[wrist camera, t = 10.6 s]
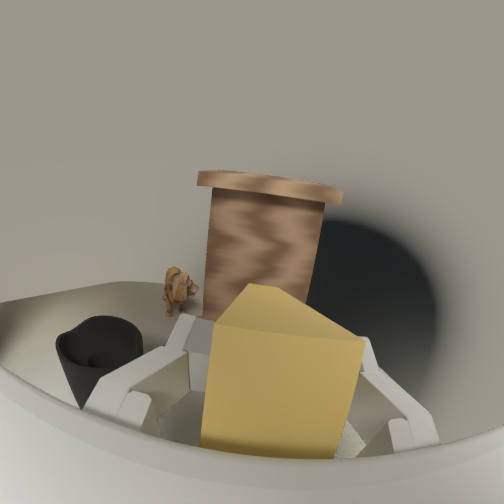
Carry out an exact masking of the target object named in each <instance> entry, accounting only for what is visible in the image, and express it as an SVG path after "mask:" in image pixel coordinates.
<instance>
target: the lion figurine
mask: <svg viewBox="0 0 504 504" xmlns="http://www.w3.org/2000/svg"><path fill="white" fill-rule="evenodd" d="M198 289H199V287H198V286H196V285H195V284H194V283H193V281H192V280H190V279H189V274H187V273H183V272H181V270H180V269H179V268H176V267H172V268H170V269H168V271H167V273H166V280H165V295H164V297H163V300H166V305H167V312H166V315H167V316H172V313H173V311H172V303H173V304H179V307H178V311H179V312H180V314H182V313H186V311H185V310H184V303H185V300H187V299H188V296H189V295H191V296H194V295H195V293H196V291H197V290H198Z"/></svg>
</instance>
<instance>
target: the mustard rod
mask: <svg viewBox="0 0 504 504" xmlns="http://www.w3.org/2000/svg"><path fill="white" fill-rule="evenodd" d="M365 344H366V341H364V340H362V339H361V338H359V337H357V336H356V335H354V334H353V333H351V332H349V331H347V330H346V329H344V328H343V327H341V326H339V325H338V324H336V323H334V322H333V321H331V320H330V319H328V318H326V317H325V316H323V315H321V314H320V313H318V312H317V311H315V310H313V309H312V308H310V307H309V306H307V305H305V304H304V303H302V302H300V301H299V300H297V299H296V298H294V297H292V296H291V295H289V294H288V293H286V292H284V291H283V290H281V289H280V288H278V287H271V286H264V285H257V284H251V283H249V284H248V285H247V286H246V287H245V288H244V290H243V291H242V292H241V293H240V294H239V295H238V297H237V298H236V299H235V300H234V301H233V302H232V304H231V305H230V306H229V307H228V308H227V309H226V311H225V312H224V313H223V314H222V315H221V316H220V317H219V319H218V320H217V321H216V322H215V323H214V328H213V336H212V343H211V351H210V359H209V367H208V375H207V383H206V391H205V400H204V409H203V418H202V427H201V437H200V446H199V447H200V448H205V449H211V450H216V451H222V452H229V453H235V454H243V455H251V456H261V457H273V458H289V459H333V457H334V455H335V452H336V449H337V446H338V443H339V441H340V438H341V435H342V431H343V428H344V425H345V422H346V419H347V416H348V412H349V409H350V405H351V402H352V398H353V395H354V391H355V387H356V383H357V379H358V375H359V371H360V367H361V362H362V358H363V353H364V349H365Z"/></svg>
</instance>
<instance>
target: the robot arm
mask: <svg viewBox="0 0 504 504" xmlns="http://www.w3.org/2000/svg"><path fill="white" fill-rule="evenodd" d="M216 321H217V320H215V319H210V318H205V317H200V316H194V315H189V314H185V313H182V314H181V315H179V317H178V320H177V322H176V324H175V326H174V328H173V330H172V332H171V334H170V336H169V339H168V341H167V343H166V345H165V347H164V346H159V347H157V348H155V349H153V350H152V351H150V352H148V353H146V354H144V355H142V356H141V357H139V358H137V359H135V360H133V361H131V362H129V363H128V364H126V365H124V366H122V367H120V368H118V369H116V370H114V371H113V372H111V373H109V374H107V375H105V376H103V377H101V378H100V379H99V381H98V383H97V385H96V386H95V388H94V390H93V391H92V393H91V395H90V397H89V398H88V400H87V402H86V404H85V406H84V407H83V409H82V410H81V409H79V408H76V407H74V406H72V405H70V404H68V403H66V402H64V401H62V400H60V399H58V398H56V397H54V396H52V395H50V394H48V393H46V392H44V391H43V390H41V389H39V388H37V387H35V386H34V385H32V384H30V383H28V382H27V381H25V380H23V379H22V378H20V377H19V376H17V375H15V374H14V373H12V372H11V371H9V370H8V369H6V368H5V367H3V366H2V365H0V504H504V425H502V426H499V427H496V428H494V429H491V430H488V431H485V432H482V433H479V434H476V435H473V436H470V437H467V438H464V439H460V440H457V441H453V442H449V443H445V444H440V441H439V438H438V435H437V432H436V428H435V425H434V422H433V420H432V417H431V414H430V413H429V412H428V411H427V410H426V409H425V408H423V407H422V406H421V405H420V404H419V403H418V402H417V401H416V400H414V399H413V398H412V397H411V396H410V395H409V394H408V393H407V392H405V391H404V390H403V389H402V388H401V387H400V386H399V385H397V384H396V383H395V382H394V381H393V380H392V379H391V378H390V377H388V376H387V375H386V374H385V373H384V372H380V371H379V368H378V365H377V362H376V359H375V356H374V353H373V350H372V347H371V344H370V341H369V339H368V338H367V337H359V338H361V339H362V340H364V341H366V344H365V349H364V353H363V358H362V362H361V367H360V371H359V375H358V379H357V383H356V387H355V391H354V395H353V398H352V402H351V405H350V409H349V412H348V416H347V420H348V421H349V423H350V424H351V425H352V427H353V428H354V429H355V431H356V432H357V433H358V435H359V436H360V437H361V439H362V440H363V441H364V443H365V444H366V445H367V446H366V447H365V448H364V449H363V450H362V451H361V452H360V453H359V454H358V455H357V456H356V457H355V458H343V459H289V458H273V457H261V456H251V455H243V454H235V453H229V452H222V451H216V450H211V449H205V448H200V447H195V446H191V445H186V444H182V443H178V442H174V441H170V440H166V439H163V438H162V435H161V431H160V428H159V425H158V421H157V418H158V417H160V416H161V415H162V414H163V413H165V412H166V411H167V410H168V409H169V408H171V407H172V406H173V405H174V404H176V403H177V402H178V401H179V400H180V399H181V398H183V397H184V396H185V395H186V394H187V393H189V392H190V390H192V391H198V392H204V393H205V391H206V383H207V375H208V367H209V359H210V351H211V343H212V336H213V328H214V323H215V322H216Z"/></svg>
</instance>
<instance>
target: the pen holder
mask: <svg viewBox="0 0 504 504" xmlns="http://www.w3.org/2000/svg"><path fill="white" fill-rule="evenodd" d="M56 350H57V353H58V356H59V359H60V362H61V364H62V367H63V370H64V372H65V375H66V378H67V380H68V383H69V385H70V387H71V390H72V392H73V394H74V397H75V399H76V401H77V403H78V405H79V407H80V409H81V410H82V409H83V407H84V406H85V404H86V402H87V400H88V398H89V397H90V395H91V393H92V391H93V390H94V388H95V386H96V385H97V383H98V381H99V379H100V378H101V377H103V376H105V375H107V374H109V373H111V372H113V371H114V370H116V369H118V368H120V367H122V366H124V365H126V364H128V363H129V362H131V361H133V360H135V359H137V358H139V357H141V356H142V355H143V342H142V336H141V333H140V331H139V330H138V328H137V327H136V326H134V325H133V324H132V323H130V322H128V321H126V320H124V319H121V318H118V317H113V316H94V317H91V318H88V319H87V320H85V321H83V322H82V323H81V324H79V325H78V326H77V327H75V328H74V329H72V330H70V331H68V332H65V333H62V334H60V335H59V336H58V337H57V339H56Z"/></svg>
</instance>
